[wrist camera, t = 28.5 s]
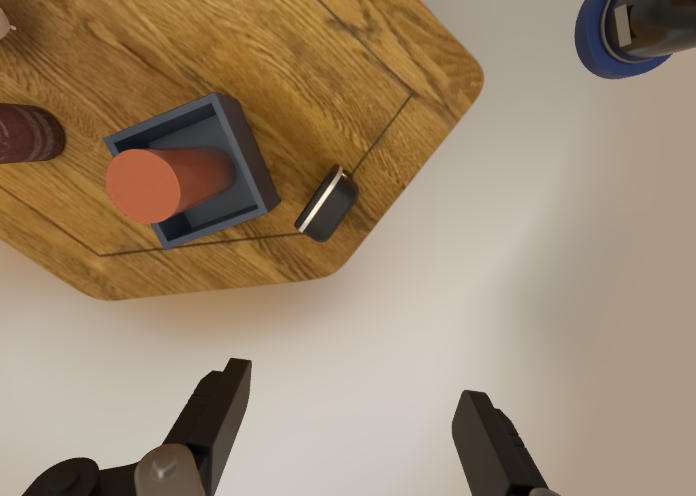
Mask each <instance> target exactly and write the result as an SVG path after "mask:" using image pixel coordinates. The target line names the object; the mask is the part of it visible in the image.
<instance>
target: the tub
mask: <svg viewBox="0 0 696 496" xmlns="http://www.w3.org/2000/svg"><path fill="white" fill-rule="evenodd" d="M103 140H104V142H105V143H106V145H107V147H108V149H109V151H110V152H111V154H112V156H113V158H114V157H115V156H117V155H118V154H119V153H121V152H123V151H126V150H131V149H146V148H165V147H184V146H204V145H210V146H215V147H218V148H220V149H222V150H223V151H225V152H226V153H227V154H228V155H229V156H230V157H231V159H232V161H233V163H234V165H235V169H236V179H235V183H234V185H233V186H232V188H231V189H230V190H229V191H228V192H227V193H225V194H223V195H221V196H218V197H216V198H214V199H212V200H209V201H207V202H205V203H203V204H200V205H198V206H196V207H194V208H191V209H189V210H187V211H184V212H182V213H180V214H178V215H175V216H173V217H171V218H169V219H166V220H164V221H162V222H158V223H151V226H152V228H153V230H154V231H155V233H156V235H157V237H158V239H159V240H160V242H161V244H162V246H163V248H164V249H165V250H168V249H170V248H173V247H176V246H179V245H181V244H184V243H187V242H190V241H192V240H195V239H198V238H201V237H204V236H206V235H209V234H212V233H215V232H217V231H220V230H223V229H226V228H228V227H231V226H234V225H237V224H240V223H242V222H245V221H248V220H251V219H253V218H256V217H259V216H261V215H264V214H267V213H269V212H270V211H271V210H272V209H273V208H274V207H275V206H277V205H278V204H279V203H280V202H281V201H280V198H279V196H278V194H277V191H276V189H275V186H274V184H273V182H272V179H271V177H270V175H269V172H268V170H267V168H266V165H265V163H264V161H263V158H262V156H261V153H260V151H259V149H258V146H257V144H256V142H255V139H254V137H253V135H252V132H251V130H250V127H249V125H248V123H247V120H246V118H245V116H244V113H243V111H242V109H241V106H240V104H239V101H238V100H237V99H234V98H231V97H228V96H226V95H223V94H220V93H217V92H213V93H211V94H209V95H206V96H204V97H201V98H199V99H197V100H194V101H192V102H189V103H187V104H185V105H182V106H180V107H177V108H175V109H172V110H170V111H168V112H165V113H163V114H160V115H158V116H156V117H153V118H151V119H148V120H146V121H144V122H141V123H139V124H136V125H134V126H131V127H129V128H127V129H124V130H122V131H119V132H117V133H115V134H112V135H110V136H107V137H105V138H103Z"/></svg>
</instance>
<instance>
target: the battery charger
mask: <svg viewBox="0 0 696 496" xmlns="http://www.w3.org/2000/svg"><path fill="white" fill-rule="evenodd" d="M358 194H359V189H358V186H357V184H356V183H355V182H354V181H353V180H352V177H351V176H350V174H349V173H348V172H347V171H346V170H344V169H343V167H341V166H339V165H337V164H335V165H334V166H333V167H332V169H331V170H330V172H329V173H328V175H327V176H326V178H325V179H324V180H323V182H322V183H321V185H320V186H319V188H318V189H317V191H316V192H315V194H314V195H313V197H312V198H311V199H310V201H309V202H308V204H307V205H306V207H305V208H304V210H303V211H302V213H301V214H300V216H299V217H298V219H297V220H296V222H295V224H294V226H295V227H296V228H297V229H298V231H300V232H301V233H302V232H303V233H304V234H306V235H307V236H309V237H310V238H312V239H313V240H315V241H317V242H325V241H327V240H328V239H329V238H330V237H331V235H332V234H333V233H334V231H335V230H336V229H337V227H338V226H339V224H340V223H341V222H342V220H343V219H344V218H345V216H346V215H347V214H348V212H349V211H350V209H351V208H352V207H353V205H354V204H355V202H356V201H357V198H358Z"/></svg>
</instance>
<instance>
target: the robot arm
mask: <svg viewBox="0 0 696 496" xmlns="http://www.w3.org/2000/svg"><path fill="white" fill-rule="evenodd" d="M598 32H599V39H600V42H601V45H602V47H603V49H604V51H605V52H606V53H607V54H608V56H610V57H611V58H612V59H614V60H615V61H617V62H620V63H624V64H637V63H641V62H645V61H648V60H651V59H654V58H657V57H661V56H664V55H669V54H673V53H676V52H680V51H684V50H688V49H691V48H695V47H696V0H606V1H605V3H604V5H603V7H602V10H601V14H600V18H599V25H598ZM251 368H252V362H251V360H244V359H237V358H230V360H229V362H228V364H227V366H226V367H225V369H224V371H223V372H221V371H212V372H210V373H209V374H208V375H206V376H205V377H204V378H202V379H201V380H200V382H199V384H198V385H197V387H196V389H195V390H194V393H193V394H192V395H191V397H190V399H189V400H188V403H187V404H186V405H185V407H184V409H183V410H182V412H181V414H180V415H179V417H178V419H177V420H176V422H175V424H174V425H173V427H172V429H171V430H170V432H169V434H168V435H167V437H166V439H165V440H164V442H163V443H162V445H161V446H159V447H157V448H155V449H153V450H151V451H150V452H149V453H147V454H146V455H145V456H144V457H143V458H142V459H141V460H140V461H139V462H137V463H134V464H130V465H126V466H121V467H115V468H109V469H104V470H99V467H98V465H97V464H96V462H95V461H93V460H92V459H89V458H72V459H69V460H65V461H62V462H60V463H58V464H56V465H54V466H52V467H50V468H49V469H47V470H46V471H45V472H43V473H42V474H41V475H40V476H38V477H37V479H36V480H35V481H34V482H33V483H32V484H31V485H30V486H29V488H28V489H27V490H26V491H25V492H24V494H23V495H22V496H214V494H215V492H216V489H217V486H218V484H219V481H220V478H221V475H222V473H223V470H224V468H225V465H226V462H227V460H228V457H229V454H230V451H231V449H232V446H233V443H234V441H235V438H236V435H237V433H238V430H239V427H240V425H241V422H242V419H243V417H244V414H245V411H246V408H247V404H248V399H249V393H250V380H251ZM518 435H519V434H518V433H517V431H516V429H515V427H514V425H513V423H512V422H511V421H510V419H509V418H508V417H507V416H506V415H505V414H504V413H503V412H502V411H501V410H500V409H495V408H494V407H493V405H492V403H491V401H490V399H489V397H488V395H487V394H486V393H484V392H478V391H470V390H464V391H463V392H462V394H461V398H460V400H459V403H458V406H457V409H456V412H455V415H454V418H453V421H452V436H453V440H454V443H455V446H456V449H457V452H458V455H459V458H460V461H461V464H462V466H463V470H464V472H465V475H466V478H467V482H468V484H469V487H470V490H471V493H472V496H560V495H559V494H557V493H555V492H554V491H551V490H549V488H548V486H547V484H546V482H545V481H544V479H543V477H542V476H541V474H540V472H539V470H538V469H537V466H536V465H535V463H534V461H533V460H532V457H531V456H530V454H529V452H528V450H527V449H526V448H525V447H524V446H525V445H524V443H523V441H522V440H521V438H520V437H519V436H518Z"/></svg>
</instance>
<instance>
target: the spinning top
mask: <svg viewBox="0 0 696 496" xmlns="http://www.w3.org/2000/svg"><path fill="white" fill-rule="evenodd" d="M10 29H13V30H16V27H15V26H13V25H10V23H9V21H8V19H7V17H6V15H5V14H4V12H3V11H2V9H1V8H0V39H2V38H3V37H4V36H5V35H6V34H7V33H8V31H9V30H10Z"/></svg>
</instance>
